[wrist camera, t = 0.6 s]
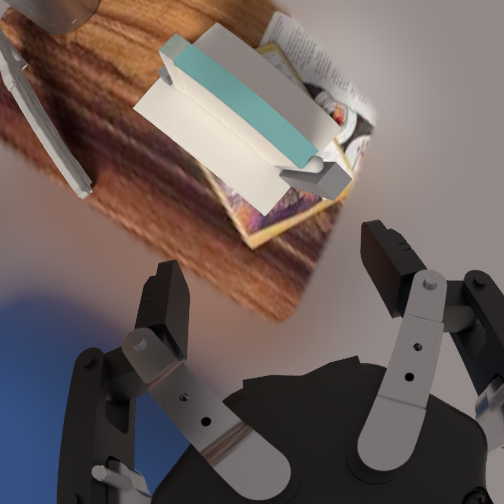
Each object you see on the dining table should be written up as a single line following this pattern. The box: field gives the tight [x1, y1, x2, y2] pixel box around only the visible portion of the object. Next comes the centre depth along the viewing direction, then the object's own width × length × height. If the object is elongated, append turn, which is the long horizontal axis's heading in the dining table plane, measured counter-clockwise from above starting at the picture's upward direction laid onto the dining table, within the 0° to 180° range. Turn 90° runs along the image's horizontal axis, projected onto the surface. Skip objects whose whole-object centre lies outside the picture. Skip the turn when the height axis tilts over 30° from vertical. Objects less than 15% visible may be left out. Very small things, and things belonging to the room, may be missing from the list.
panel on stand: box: [133, 22, 352, 216], centre depth 28 cm, size 21×15×15 cm
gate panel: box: [158, 34, 324, 173], centre depth 28 cm, size 16×2×13 cm, turn 49°
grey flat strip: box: [0, 28, 93, 199], centre depth 29 cm, size 2×30×8 cm, turn 31°
